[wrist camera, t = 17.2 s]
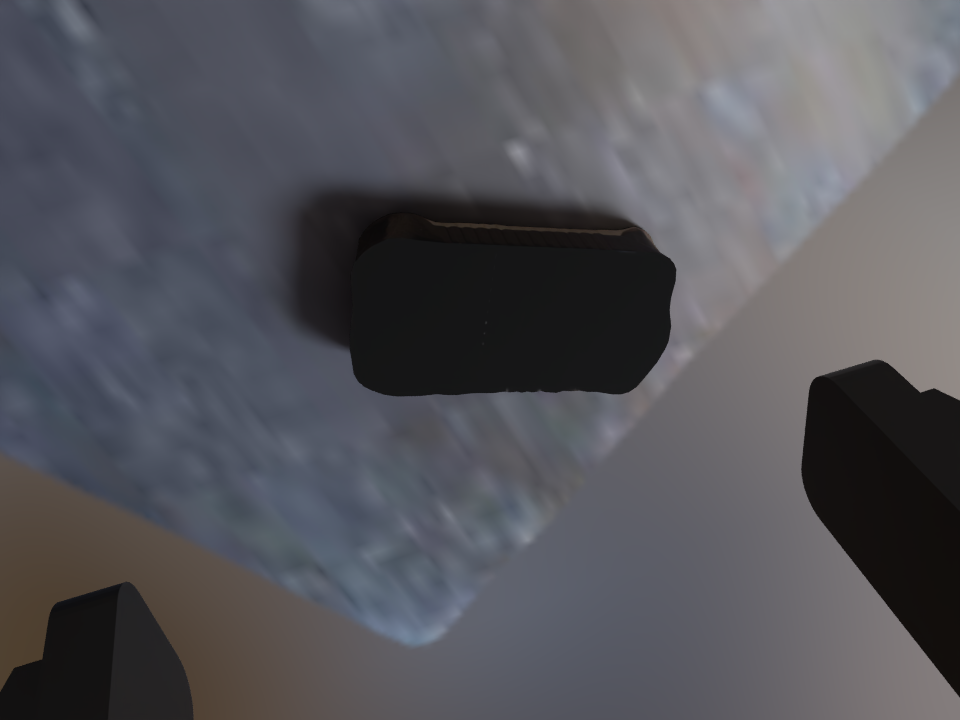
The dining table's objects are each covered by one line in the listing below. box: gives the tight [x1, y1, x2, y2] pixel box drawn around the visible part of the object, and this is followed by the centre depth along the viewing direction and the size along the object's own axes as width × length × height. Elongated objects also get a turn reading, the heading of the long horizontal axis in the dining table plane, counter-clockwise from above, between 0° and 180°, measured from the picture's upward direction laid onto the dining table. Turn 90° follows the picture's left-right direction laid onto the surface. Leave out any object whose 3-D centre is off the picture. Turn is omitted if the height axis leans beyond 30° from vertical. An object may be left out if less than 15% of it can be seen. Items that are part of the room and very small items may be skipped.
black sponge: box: [350, 213, 676, 396], centre depth 44 cm, size 16×8×4 cm, turn 78°
